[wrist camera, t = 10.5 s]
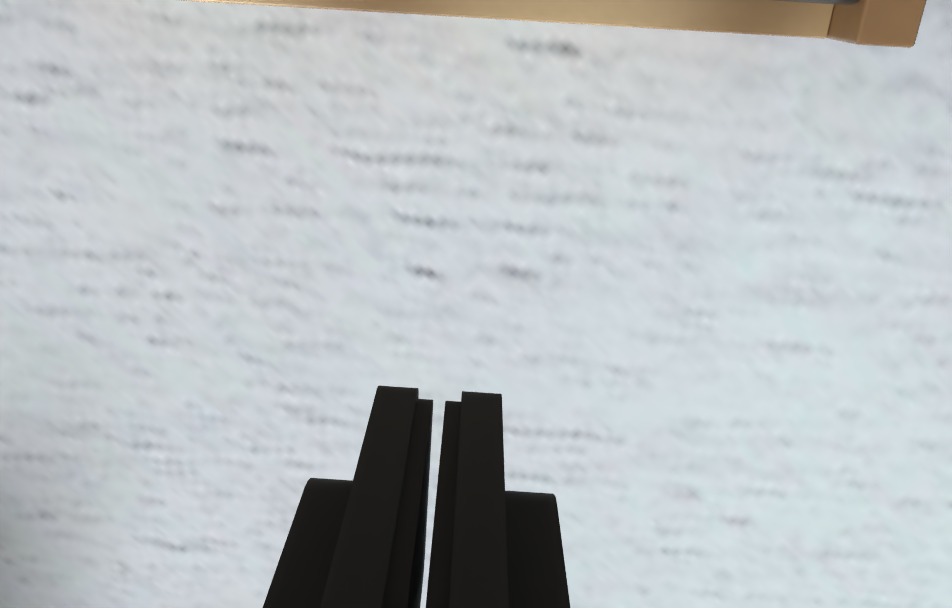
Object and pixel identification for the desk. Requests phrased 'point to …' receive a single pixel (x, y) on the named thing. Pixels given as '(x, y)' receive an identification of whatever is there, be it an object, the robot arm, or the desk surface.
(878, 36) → the brown wooden tray
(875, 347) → the desk surface
